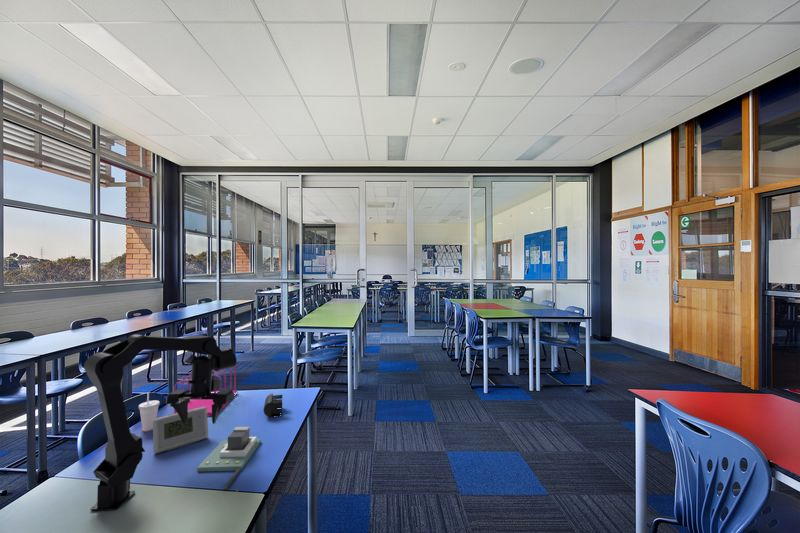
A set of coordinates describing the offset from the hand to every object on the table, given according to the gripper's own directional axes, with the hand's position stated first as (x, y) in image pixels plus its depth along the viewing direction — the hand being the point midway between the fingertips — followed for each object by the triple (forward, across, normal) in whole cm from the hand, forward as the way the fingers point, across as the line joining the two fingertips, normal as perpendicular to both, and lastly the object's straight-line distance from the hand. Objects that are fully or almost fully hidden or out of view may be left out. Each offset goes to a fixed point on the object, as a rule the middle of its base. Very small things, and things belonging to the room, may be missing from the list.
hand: (199, 423), depth 103 cm
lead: (+12, -16, +9) cm, 22 cm away
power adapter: (+11, -12, -34) cm, 38 cm away
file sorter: (+11, +21, -43) cm, 49 cm away
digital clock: (+12, +12, -10) cm, 19 cm away
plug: (+10, -11, -4) cm, 15 cm away
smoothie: (+12, +31, -21) cm, 39 cm away
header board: (+11, -10, -2) cm, 15 cm away
